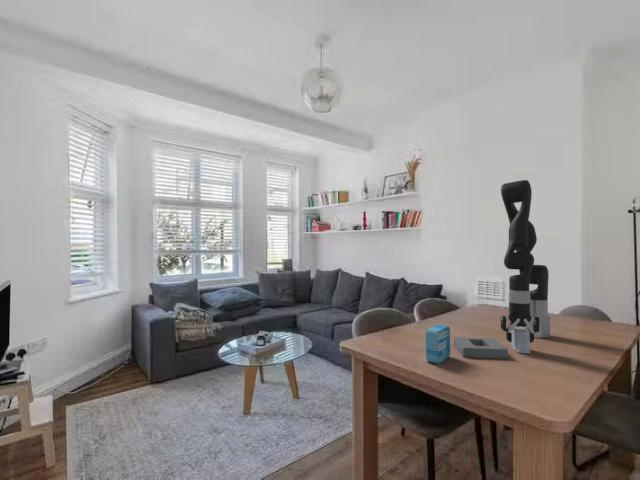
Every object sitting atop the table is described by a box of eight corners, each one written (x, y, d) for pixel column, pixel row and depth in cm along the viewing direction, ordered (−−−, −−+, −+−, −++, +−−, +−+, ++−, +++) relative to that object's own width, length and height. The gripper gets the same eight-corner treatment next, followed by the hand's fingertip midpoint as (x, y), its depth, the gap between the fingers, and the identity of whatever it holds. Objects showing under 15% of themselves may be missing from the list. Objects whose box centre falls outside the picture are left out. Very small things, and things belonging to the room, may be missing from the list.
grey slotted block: (493, 346, 141) (493, 338, 141) (507, 358, 126) (507, 349, 126) (453, 345, 143) (453, 337, 143) (463, 356, 129) (463, 347, 129)
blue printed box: (437, 365, 120) (437, 331, 120) (425, 362, 123) (425, 329, 123) (450, 356, 129) (450, 325, 129) (439, 354, 132) (438, 323, 132)
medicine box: (530, 354, 131) (530, 331, 132) (518, 353, 132) (517, 331, 132) (522, 347, 139) (522, 327, 139) (510, 347, 140) (510, 326, 140)
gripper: (534, 300, 139) (534, 339, 138) (497, 299, 141) (497, 338, 141) (543, 303, 131) (543, 345, 131) (504, 302, 133) (504, 343, 133)
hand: (520, 341), depth 136 cm, fingers open, 7 cm apart
